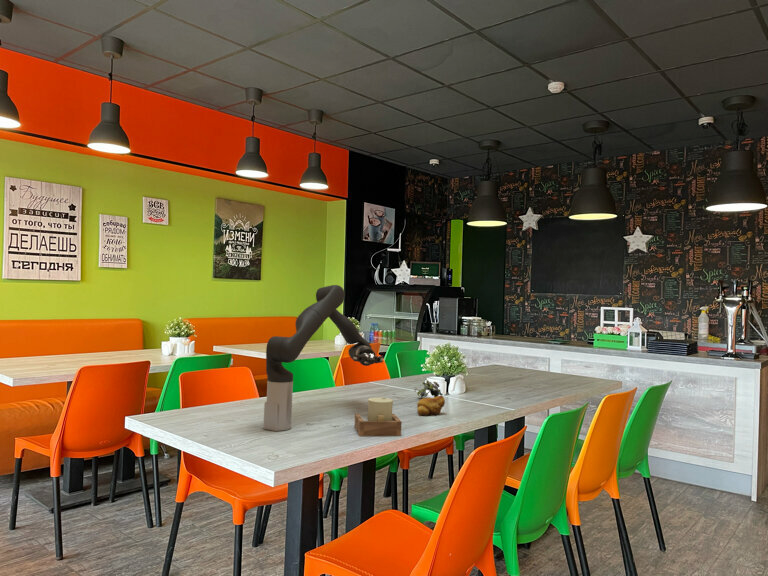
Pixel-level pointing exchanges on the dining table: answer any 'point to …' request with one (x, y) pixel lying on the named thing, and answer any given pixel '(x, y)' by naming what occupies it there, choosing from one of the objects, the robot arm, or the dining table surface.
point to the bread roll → (430, 405)
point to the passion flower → (430, 389)
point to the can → (380, 408)
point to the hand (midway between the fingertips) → (371, 361)
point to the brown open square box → (378, 426)
